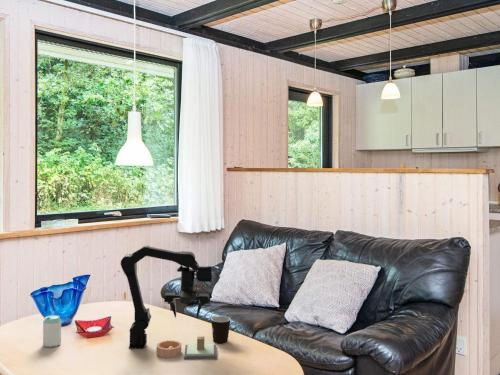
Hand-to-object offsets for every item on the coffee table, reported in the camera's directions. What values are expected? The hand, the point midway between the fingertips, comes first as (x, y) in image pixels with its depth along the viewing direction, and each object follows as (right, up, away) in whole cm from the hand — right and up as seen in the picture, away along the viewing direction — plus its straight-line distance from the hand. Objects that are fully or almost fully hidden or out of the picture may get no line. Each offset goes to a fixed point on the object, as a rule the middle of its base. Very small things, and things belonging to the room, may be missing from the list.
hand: (186, 317), depth 206 cm
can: (-57, -11, -3) cm, 58 cm away
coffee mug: (+15, -12, +8) cm, 21 cm away
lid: (+7, -12, -8) cm, 16 cm away
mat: (+7, -13, -8) cm, 16 cm away
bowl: (-6, -12, -9) cm, 16 cm away
